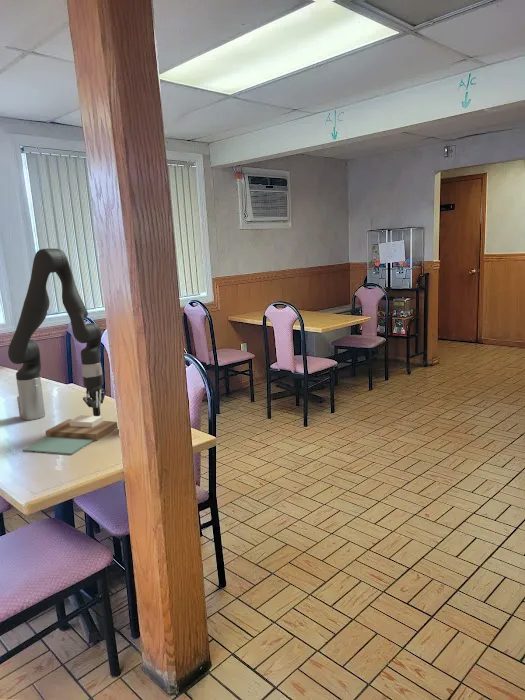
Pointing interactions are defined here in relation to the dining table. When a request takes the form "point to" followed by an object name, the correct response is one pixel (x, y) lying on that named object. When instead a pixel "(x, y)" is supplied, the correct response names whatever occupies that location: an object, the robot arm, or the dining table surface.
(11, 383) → the dining table surface
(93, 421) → the plastic block
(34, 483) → the dining table surface
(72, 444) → the rubber mat
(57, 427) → the board
